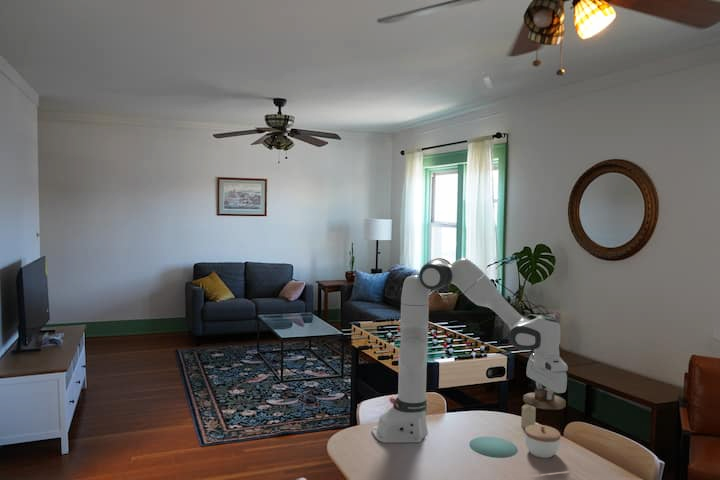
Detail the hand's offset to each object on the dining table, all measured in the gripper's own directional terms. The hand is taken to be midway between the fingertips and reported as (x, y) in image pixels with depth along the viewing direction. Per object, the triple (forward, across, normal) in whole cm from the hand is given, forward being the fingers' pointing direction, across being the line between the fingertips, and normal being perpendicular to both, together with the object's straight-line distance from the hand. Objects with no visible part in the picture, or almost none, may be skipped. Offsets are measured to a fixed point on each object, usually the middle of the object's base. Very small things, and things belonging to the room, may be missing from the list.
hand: (544, 396), depth 207 cm
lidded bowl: (+22, 0, 0) cm, 22 cm away
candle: (+22, -23, +9) cm, 33 cm away
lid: (+2, 0, 0) cm, 2 cm away
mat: (+22, -9, -15) cm, 28 cm away
